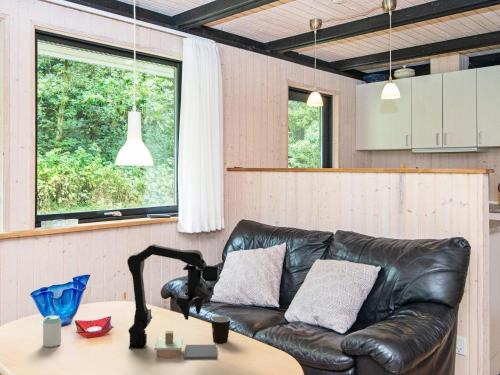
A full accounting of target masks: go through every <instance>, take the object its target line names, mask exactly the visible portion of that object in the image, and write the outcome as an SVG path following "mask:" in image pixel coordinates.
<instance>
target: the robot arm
mask: <svg viewBox="0 0 500 375" xmlns="http://www.w3.org/2000/svg"><path fill="white" fill-rule="evenodd" d="M151 256H157V257H163V258H167V259H174V260H177V261H181V262H182V263H185V264H186V265H185V266H184V267H183V268H182V270H183V271H187V281H186V282H185V283H184V285H185V286H186V291H184V295H180V296H177V297H176V298H175V305H177V306H179V308H180V310H181V312H182V315H183V317H184V319H185V320H186V321H187V320H189V318H190V312H191V311H190V309H191V307H193V302H194V308H195V313H196V315H200V313H201V311H202V307H203V304H204V302H207V301H210V300H211V299H212V297H213V296H214V295H215V292H214V290H215V289H214V287H213V286H209V287H205V286H204V282H212V283H213V282H214V283H218V282H219V276H220V275H219V274H220V272H219V270H220V269H219V265H209V264H207V262H206V261H205V260H204V258H203V253H202V252H201V251H200V250H197V249H183V250H181V249H179V248H178V249H177V248H172V247H167V246H162V245H157V244H155V243H153V244H150V245H148V246H147V247H146V248H145V249H143V250H142V251H141V252H135V253H133V254H132V255H130V256H129V257H128V258H127V260H126V262H127V266H128V271H129V272H130V274H131V278H132V285H133V294H134V304H135V310H134V311H135V312H134V317H133V324H132V325H131V326H130V327H129V328H128V330H127V331H128V334H129V344H128V345H129V346H128V349H145V347H146V345H147V343H148V340H147V339H148V334H147V333H146V329H147V327H148V326H149V324H150V323H151V322H152V321H151V320H152V319H153V316H152V308H148V307H147V302H146V292H145V284H144V283H145V281H144V269H145V262H146V261H145V260H147V259H148V258H150V257H151ZM202 280H204V282H202Z"/></svg>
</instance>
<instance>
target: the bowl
mask: <svg viewBox="0 0 500 375" xmlns="http://www.w3.org/2000/svg"><path fill="white" fill-rule="evenodd" d="M155 351H156V356H158V357H160V358H163V359H171V358H172V359H173V358H177V357H179V356H181V354H182V350H155Z"/></svg>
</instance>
